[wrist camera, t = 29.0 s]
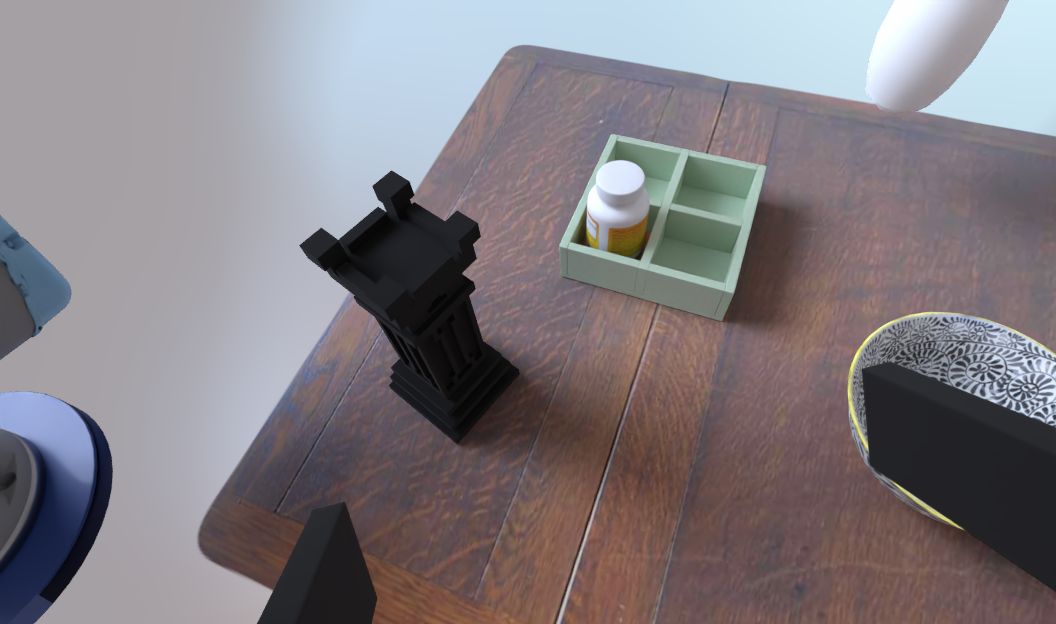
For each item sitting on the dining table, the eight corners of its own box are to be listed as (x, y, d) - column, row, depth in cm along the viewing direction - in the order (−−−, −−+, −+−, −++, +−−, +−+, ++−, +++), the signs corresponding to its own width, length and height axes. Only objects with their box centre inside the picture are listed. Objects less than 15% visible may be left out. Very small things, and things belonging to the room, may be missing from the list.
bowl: (882, 323, 48) (929, 272, 41) (1082, 457, 41) (1176, 421, 34) (767, 444, 43) (800, 408, 37) (972, 619, 36) (1057, 612, 30)
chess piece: (457, 444, 45) (383, 319, 28) (391, 389, 48) (289, 246, 31) (519, 373, 48) (487, 221, 31) (453, 325, 51) (391, 164, 34)
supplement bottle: (651, 241, 53) (665, 166, 45) (626, 281, 51) (636, 210, 43) (602, 221, 55) (606, 145, 47) (576, 259, 53) (575, 186, 45)
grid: (560, 275, 53) (558, 246, 49) (609, 167, 60) (611, 133, 56) (721, 321, 49) (734, 293, 45) (754, 199, 56) (767, 165, 52)
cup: (859, 149, 58) (980, -65, 41) (900, 197, 55) (1054, -17, 37) (796, 166, 58) (891, -45, 40) (833, 215, 54) (956, 7, 37)
